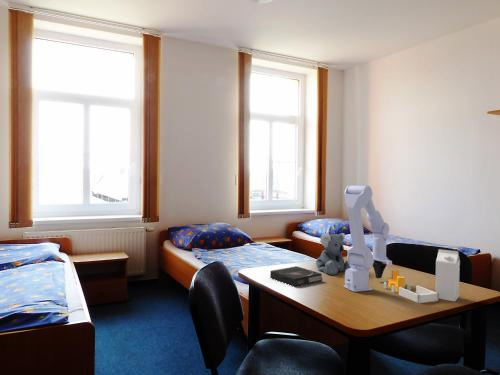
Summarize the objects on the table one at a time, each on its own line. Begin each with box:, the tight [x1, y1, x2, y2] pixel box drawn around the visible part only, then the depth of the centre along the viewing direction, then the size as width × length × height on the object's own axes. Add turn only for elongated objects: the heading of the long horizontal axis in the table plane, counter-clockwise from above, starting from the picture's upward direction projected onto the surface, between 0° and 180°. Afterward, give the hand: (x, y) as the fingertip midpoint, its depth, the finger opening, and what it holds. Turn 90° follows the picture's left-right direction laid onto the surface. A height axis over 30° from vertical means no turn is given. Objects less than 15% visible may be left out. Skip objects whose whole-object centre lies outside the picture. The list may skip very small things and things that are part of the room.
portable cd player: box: [269, 266, 323, 288], centre depth 174 cm, size 16×17×4 cm
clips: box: [391, 283, 412, 293], centre depth 160 cm, size 9×1×2 cm, turn 110°
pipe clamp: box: [386, 270, 405, 294], centre depth 163 cm, size 12×4×6 cm, turn 171°
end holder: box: [398, 285, 439, 304], centre depth 151 cm, size 10×11×3 cm
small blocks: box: [383, 281, 388, 289], centre depth 164 cm, size 9×1×2 cm, turn 110°
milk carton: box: [434, 248, 461, 302], centre depth 151 cm, size 7×7×19 cm
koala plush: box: [315, 232, 351, 276], centre depth 193 cm, size 17×18×20 cm
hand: (378, 277), depth 173 cm, fingers closed
